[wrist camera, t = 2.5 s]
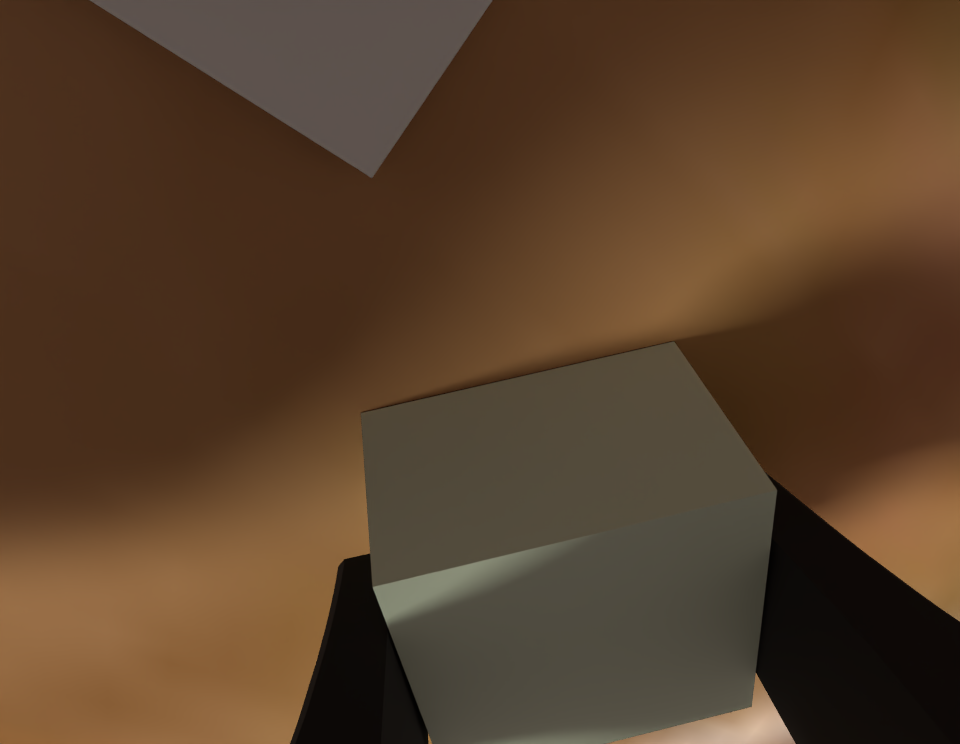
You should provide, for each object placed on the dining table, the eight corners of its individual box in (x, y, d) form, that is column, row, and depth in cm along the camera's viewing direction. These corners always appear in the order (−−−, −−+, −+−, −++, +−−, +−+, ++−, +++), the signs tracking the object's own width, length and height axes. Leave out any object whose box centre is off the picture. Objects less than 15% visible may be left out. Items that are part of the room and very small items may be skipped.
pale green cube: (673, 548, 13) (751, 706, 11) (424, 609, 13) (448, 783, 11) (673, 341, 11) (777, 489, 8) (360, 412, 10) (372, 587, 8)
